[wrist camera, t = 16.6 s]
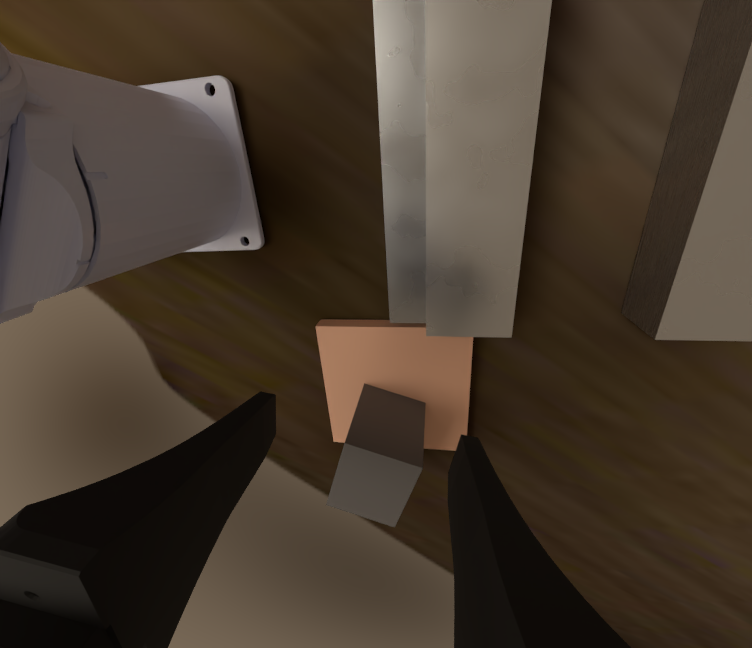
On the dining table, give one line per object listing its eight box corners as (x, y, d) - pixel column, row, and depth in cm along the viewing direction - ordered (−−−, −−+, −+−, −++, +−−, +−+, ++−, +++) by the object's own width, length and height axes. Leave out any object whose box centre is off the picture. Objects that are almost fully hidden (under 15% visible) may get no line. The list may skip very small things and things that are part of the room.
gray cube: (347, 440, 23) (325, 506, 19) (364, 383, 21) (344, 442, 16) (402, 457, 23) (394, 528, 18) (425, 402, 21) (422, 468, 16)
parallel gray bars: (393, 312, 19) (386, 335, 17) (377, -4, 14) (363, -45, 11) (757, 313, 16) (819, 342, 14) (943, -97, 10) (1118, -187, 8)
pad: (337, 431, 24) (333, 441, 23) (320, 319, 20) (315, 326, 20) (464, 440, 23) (465, 451, 22) (472, 320, 19) (473, 328, 18)
